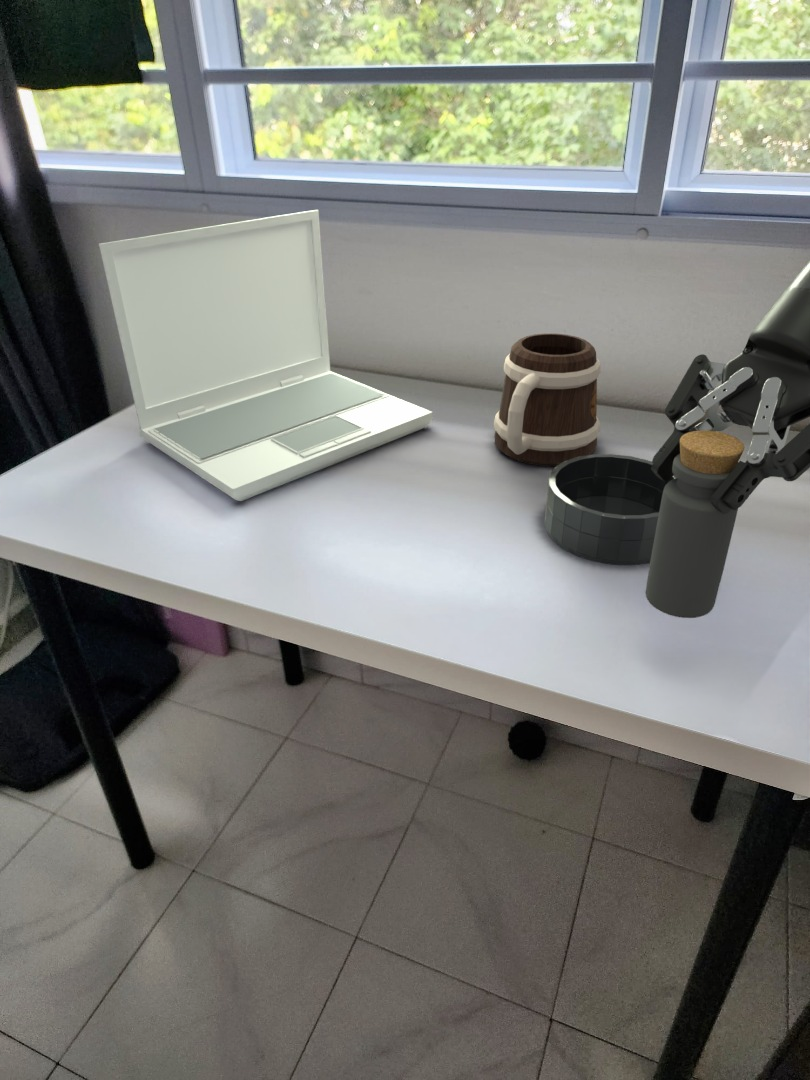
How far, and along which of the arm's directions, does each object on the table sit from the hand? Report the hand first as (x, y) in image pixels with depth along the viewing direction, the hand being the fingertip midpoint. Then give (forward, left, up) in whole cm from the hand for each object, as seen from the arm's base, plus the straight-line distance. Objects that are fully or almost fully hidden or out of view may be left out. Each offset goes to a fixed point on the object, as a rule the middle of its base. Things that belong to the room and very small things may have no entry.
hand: (687, 490), depth 59 cm
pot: (+15, -20, -19) cm, 31 cm away
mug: (+33, -32, -19) cm, 49 cm away
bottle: (-1, -2, -11) cm, 12 cm away
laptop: (+65, -13, -19) cm, 68 cm away
